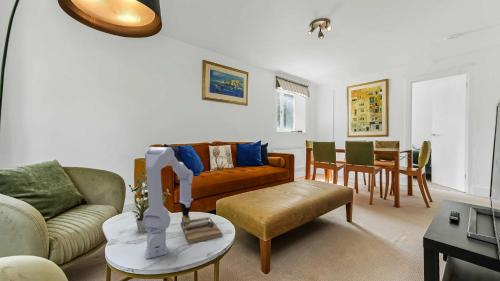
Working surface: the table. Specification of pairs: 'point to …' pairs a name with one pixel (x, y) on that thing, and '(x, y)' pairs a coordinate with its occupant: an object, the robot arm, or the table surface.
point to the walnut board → (200, 231)
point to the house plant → (141, 216)
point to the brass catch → (186, 218)
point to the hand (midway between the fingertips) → (185, 216)
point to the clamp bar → (198, 223)
